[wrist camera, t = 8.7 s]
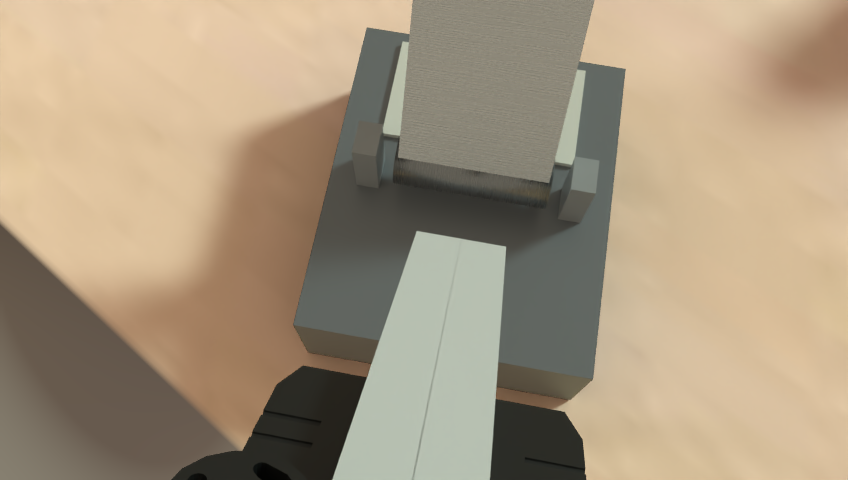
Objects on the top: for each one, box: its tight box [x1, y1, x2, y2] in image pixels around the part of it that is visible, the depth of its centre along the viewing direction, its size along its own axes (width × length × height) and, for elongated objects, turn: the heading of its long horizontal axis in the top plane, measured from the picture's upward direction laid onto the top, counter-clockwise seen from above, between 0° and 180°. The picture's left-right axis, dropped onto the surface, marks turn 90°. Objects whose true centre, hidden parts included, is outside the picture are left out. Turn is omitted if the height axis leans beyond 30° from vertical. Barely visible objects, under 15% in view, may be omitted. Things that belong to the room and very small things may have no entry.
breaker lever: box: [393, 0, 594, 209], centre depth 24 cm, size 2×6×12 cm
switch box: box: [293, 28, 625, 400], centre depth 29 cm, size 12×10×6 cm
